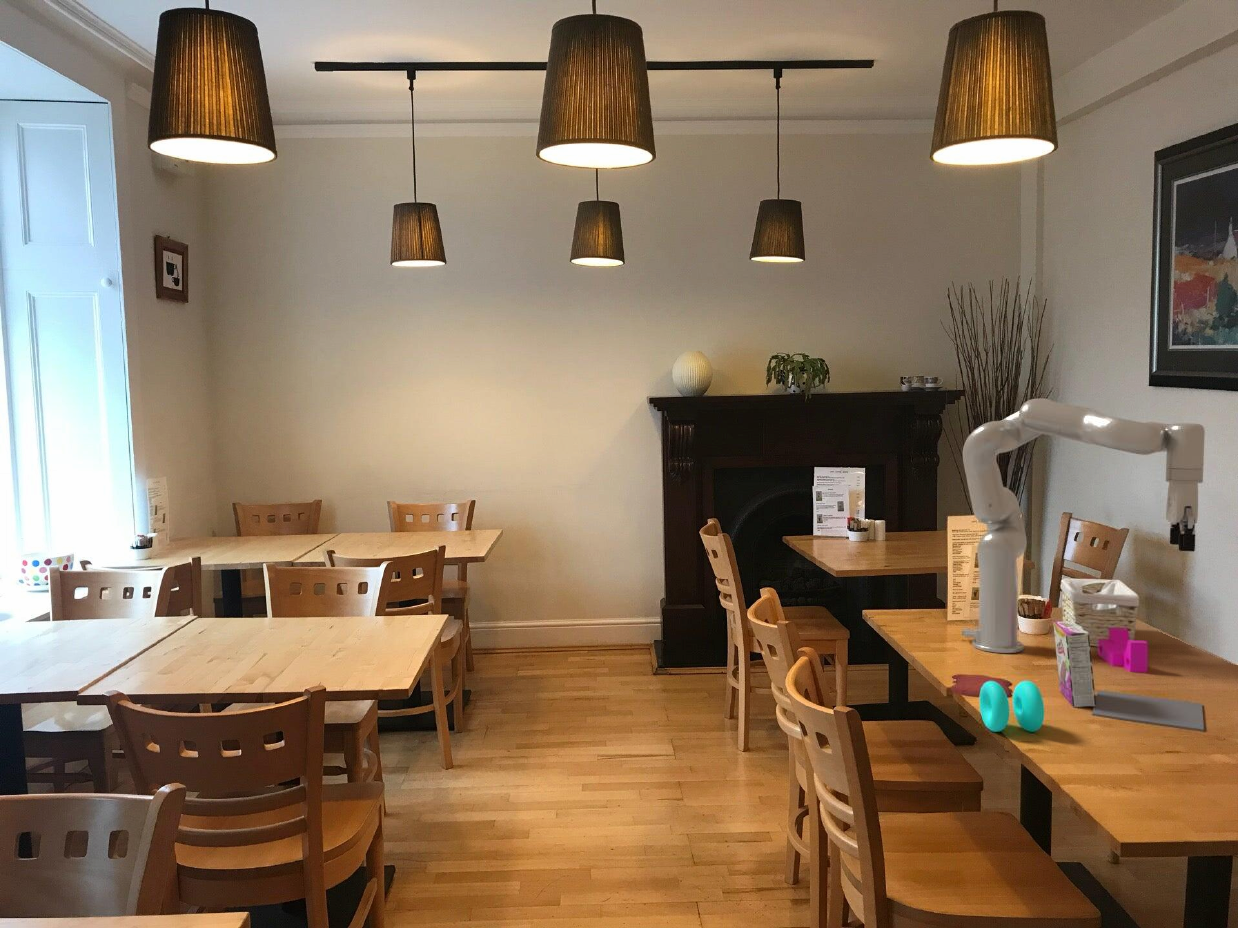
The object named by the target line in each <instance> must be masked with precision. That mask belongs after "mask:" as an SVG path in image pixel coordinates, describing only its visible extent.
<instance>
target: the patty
mask: <svg viewBox="0 0 1238 928" xmlns="http://www.w3.org/2000/svg"><path fill="white" fill-rule="evenodd" d="M951 677H952V678H953V679H952V678H951V679H952V680H954V679H956V681H955V680H954V681H952V684H953V685H952V686H951V687H950V691H952V692H953V693H955V694H957V695H960V696H965V697H971V698H980V691H981V688H982V686H983V685H984V683H986V682H988V681H995V682H997V683H998V684H1000V685H1001V686H1002V688H1003V689H1004V691H1005V693H1006V695H1007V698H1008V699H1009V698H1011V697H1013V694H1012V693H1013V692H1012V691H1013V689H1011V688H1010V687H1011V685H1012V686H1013V683H1012V682H1011V681H1009V680H1007V679H1004V678H1000V677H992V676H987V675H984V674H965V673H964V674H961V673H957V674H953V675H952V676H951ZM954 683H956V684H954ZM1011 692H1012V693H1011Z"/></svg>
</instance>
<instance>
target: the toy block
mask: <svg viewBox="0 0 1238 928" xmlns="http://www.w3.org/2000/svg"><path fill="white" fill-rule="evenodd" d="M1148 645H1149V644H1148V642H1147V641H1146V640H1134V641H1130V640H1129V630H1127V629H1126V628H1109V639H1098V647H1097V654H1098V656H1100V658H1102V659H1103V660H1104V661H1106V662H1107V663H1108V664H1109V665H1110V666H1111V667H1123V668H1124V669H1125V670H1127V671H1128V672H1129V673H1140V674H1142V673H1143V674H1145V673H1146V674H1147V673H1148Z"/></svg>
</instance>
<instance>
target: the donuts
mask: <svg viewBox="0 0 1238 928" xmlns="http://www.w3.org/2000/svg"><path fill="white" fill-rule="evenodd" d="M1012 693H1013V694H1012V709H1013V714H1014V717H1015V719H1016V721H1017V723H1018V724H1019V726H1020V727H1021V728H1022V729H1023V730H1025V731H1027V732H1031V733H1033V732H1036V731H1038V730H1040V729H1041V727H1042V725H1043V723H1044V720H1045V705H1044V700H1043V696H1042V693H1041V691H1040V688H1038V686H1037V685H1036V684H1035V683H1034V682H1032V681H1029V680H1022V681H1020V682H1019V683H1018V684H1017V685H1016V686H1015V688H1014V691H1013V692H1012ZM978 699H979V712H980V714H981V718H982V719H981V720H982V721H983V723H984V725H985V727H986V728H987V729H988V730H990V731H991V732H994V733H998V732H1002V731H1003V730H1005V728H1006V726H1007V725H1008V722H1009V718H1010V703H1009V702H1010V701H1009V698H1007V695H1006V693H1005V691H1004V689H1003V688H1002V686H1001V685H1000V684H998V683H997V682H995V681H988V682H986V683H984V685H983V686H982V688H981V691H980V697H978Z"/></svg>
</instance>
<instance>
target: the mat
mask: <svg viewBox="0 0 1238 928" xmlns="http://www.w3.org/2000/svg"><path fill="white" fill-rule="evenodd" d="M1095 699H1096V707H1092V712H1091V716H1094V717H1101V718H1107V719H1108V718H1109V719H1115V720H1121V721H1127V722H1135V723H1143V724H1150V725H1157V726H1163V727H1170V728H1177V729H1185V730H1192V731H1199V732H1204V731H1205V727H1204V726H1205V723H1204V713H1203V703H1201V702H1194V701H1193V702H1192V701H1188V700H1187V701H1186V700H1185V701H1184V700H1177V699H1169V698H1164V697H1163V698H1162V697H1155V696H1147V695H1140V694H1139V695H1138V694H1131V693H1123V692H1117V691H1108V690H1102V689H1098V690H1097V694H1096V695H1095Z"/></svg>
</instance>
